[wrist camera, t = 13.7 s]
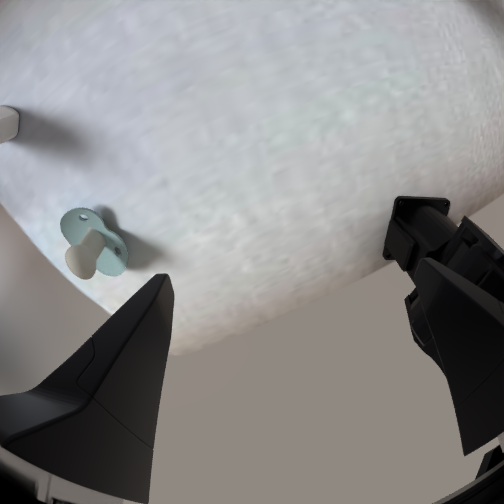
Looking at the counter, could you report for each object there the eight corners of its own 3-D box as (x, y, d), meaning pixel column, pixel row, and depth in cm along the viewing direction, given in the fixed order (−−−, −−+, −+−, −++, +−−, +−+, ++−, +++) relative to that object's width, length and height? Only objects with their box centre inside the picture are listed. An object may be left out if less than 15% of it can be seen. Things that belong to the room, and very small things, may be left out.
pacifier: (107, 275, 26) (142, 247, 24) (84, 321, 21) (118, 296, 19) (57, 227, 22) (86, 190, 20) (24, 267, 17) (47, 229, 15)
